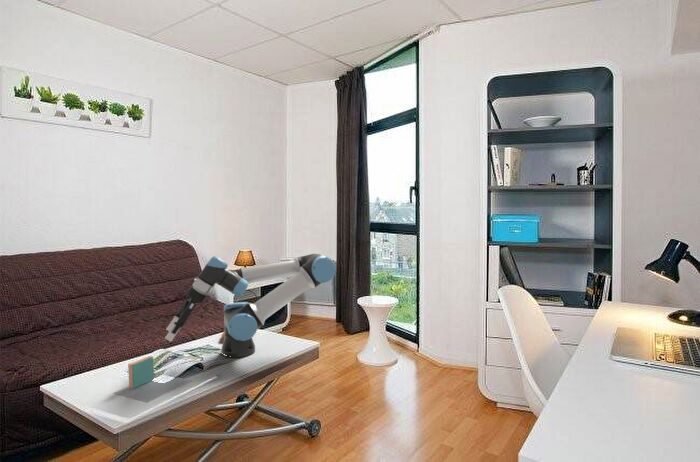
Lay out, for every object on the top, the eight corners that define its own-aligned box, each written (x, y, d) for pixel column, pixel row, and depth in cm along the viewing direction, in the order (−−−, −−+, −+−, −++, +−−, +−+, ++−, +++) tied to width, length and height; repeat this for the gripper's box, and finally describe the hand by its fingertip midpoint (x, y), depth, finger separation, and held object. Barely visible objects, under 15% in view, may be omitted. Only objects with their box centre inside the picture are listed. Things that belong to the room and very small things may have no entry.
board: (112, 395, 153) (112, 393, 153) (159, 375, 171) (159, 373, 171) (147, 405, 145) (146, 402, 145) (192, 383, 163) (192, 380, 163)
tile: (129, 387, 157) (128, 363, 157) (150, 378, 165) (149, 356, 165) (133, 388, 156) (132, 364, 156) (154, 379, 164) (153, 356, 164)
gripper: (190, 281, 187) (161, 323, 184) (192, 291, 164) (158, 339, 161) (205, 290, 190) (177, 331, 186) (209, 301, 167) (176, 348, 163)
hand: (168, 335), depth 173 cm, fingers open, 13 cm apart
